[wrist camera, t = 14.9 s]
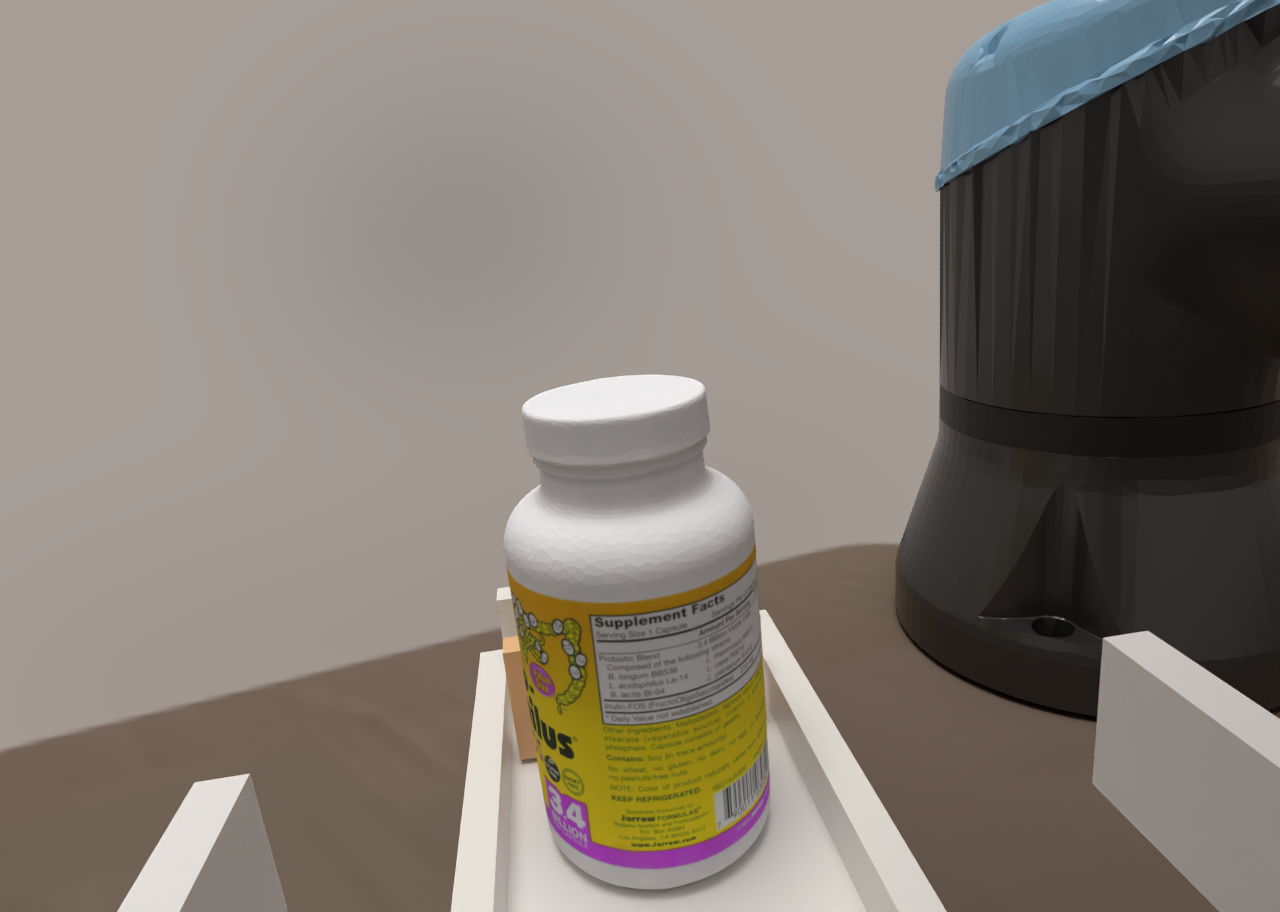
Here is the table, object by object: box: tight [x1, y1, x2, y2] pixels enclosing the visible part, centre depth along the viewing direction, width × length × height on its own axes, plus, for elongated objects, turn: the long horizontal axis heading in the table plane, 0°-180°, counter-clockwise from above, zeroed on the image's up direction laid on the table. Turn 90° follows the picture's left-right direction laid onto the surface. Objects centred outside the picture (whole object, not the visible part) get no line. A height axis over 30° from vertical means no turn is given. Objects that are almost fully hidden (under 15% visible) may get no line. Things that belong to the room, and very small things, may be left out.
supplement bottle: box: [504, 375, 770, 889], centre depth 23 cm, size 7×7×13 cm
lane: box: [451, 587, 947, 912], centre depth 23 cm, size 11×18×5 cm, turn 7°
